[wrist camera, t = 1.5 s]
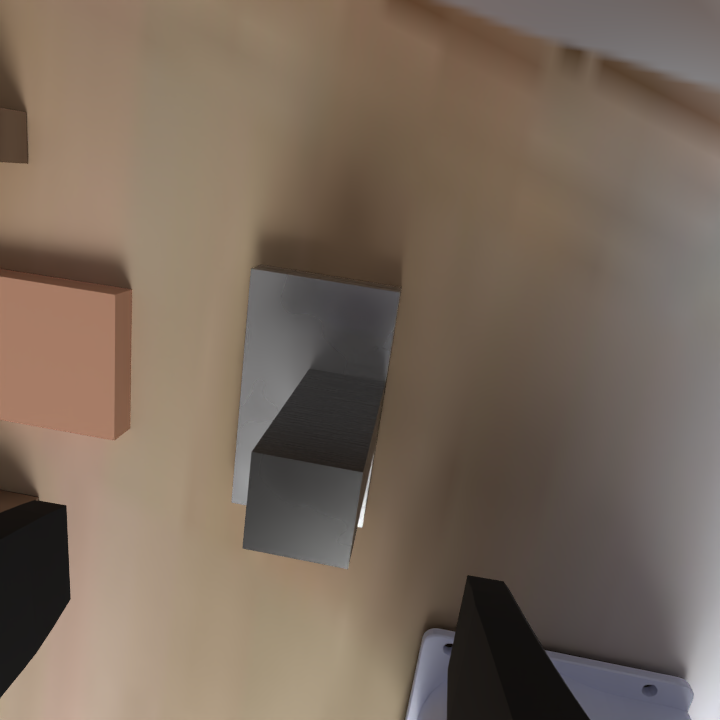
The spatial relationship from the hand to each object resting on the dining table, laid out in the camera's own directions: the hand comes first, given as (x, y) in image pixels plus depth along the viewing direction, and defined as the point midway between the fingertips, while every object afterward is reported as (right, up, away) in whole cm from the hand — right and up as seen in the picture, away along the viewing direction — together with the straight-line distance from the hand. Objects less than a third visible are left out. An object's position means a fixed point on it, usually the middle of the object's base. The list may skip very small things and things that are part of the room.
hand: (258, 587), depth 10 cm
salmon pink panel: (-8, +4, +10) cm, 14 cm away
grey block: (0, +3, +9) cm, 10 cm away
